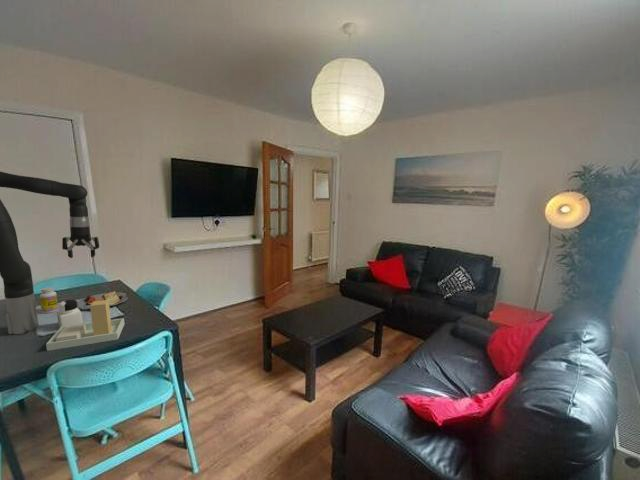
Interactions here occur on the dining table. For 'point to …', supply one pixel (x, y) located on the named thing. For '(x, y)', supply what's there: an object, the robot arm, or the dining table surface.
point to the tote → (87, 336)
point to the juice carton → (101, 317)
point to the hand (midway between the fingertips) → (82, 257)
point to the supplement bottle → (48, 300)
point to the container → (69, 313)
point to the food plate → (111, 296)
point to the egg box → (72, 332)
